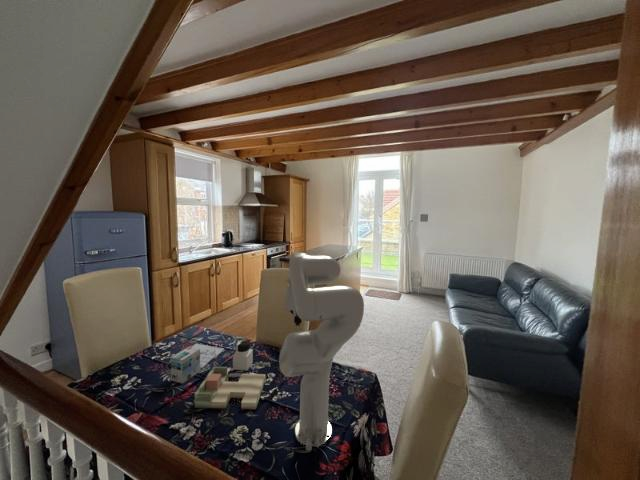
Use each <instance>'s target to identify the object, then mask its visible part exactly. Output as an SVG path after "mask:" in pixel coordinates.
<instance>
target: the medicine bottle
mask: <svg viewBox="0 0 640 480" xmlns="http://www.w3.org/2000/svg"><path fill="white" fill-rule="evenodd" d="M250 343H251V342H249V341H248V340H239V341H238V342H236V345H235V346H236V351H235V352H234V354H233V355H232V370H235V371H244V370H245V371H246V372H248V370H249V369H250V368H251V366H252V365H253V348H250V345H251V344H250Z"/></svg>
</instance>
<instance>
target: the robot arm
mask: <svg viewBox="0 0 640 480" xmlns="http://www.w3.org/2000/svg"><path fill="white" fill-rule="evenodd" d="M288 262H289V263H288V270H289V278H286V281H285V282H286V283H288V285H287V287H286V293H285V294H286V295H285V309H284V310H285V312H288V313H291V314H292V316H293V319H294V320H293V323H294V324H295V326H296V327H297V326H298V327H300V325H301V324H302V321H305V322H315V321H322V322H320V323H319V324H318V326H317V328H315V329H309V330H301V331H293V332H291V333H288V334H287V335H286V336H285V339H284V341H283V344H282V347H281V349H280V353H279V358H278V362H279V369H280V372H281V374H282V375H284V377H287V378H293V377H299V376H300V377H301V376H302V378H301V382H300V394H299V402H300V403H299V420H298V421H297V422H296V424H295V427H294V435H295V439H296V441H298V443H299V442H300V443H299V444H300V445H302V444H303V445H302V446H304V445H306V446H305V450H306V451H307V452H310V451H312V450H313V448H312V446H316V447H317V448H320V447H319V445H321V444H323V443H324V442H326V441H327V440H328V439H329V438H330V437H331V438H332V436H331V435H333V428H332V424H331V422H329V397H330V394H329V392H330V377H331V371H332V370H331V369H332V365H333V361H334V360H333V359H334V357H335V356H336V354H337V353H339V351H340V350H341V349H342V347H343V346H344V345H345V344H346V343H347V342H349V340H351V339H352V338H353V336H354V335H355V334H356V333H357V332H358V330H359V328H360V327H361V324H362V321H363V318H364V311H365V303H364V302H365V301H364V298H363V294H361V293H362V292H360V291H359V290H358V289H356V288H355V287H353V286H348V285H330V284H333V283H334V282H336V280H338V278H339V277H340V274H341V265H340V264H339V262H338V260H336V259H335V258H334V257H332V256H330V255H327V254H308V253H307V252H292V253H291V254H290V257H289V261H288ZM322 285H324V286H322ZM327 436H329V437H327ZM312 443H314V444H312Z"/></svg>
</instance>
